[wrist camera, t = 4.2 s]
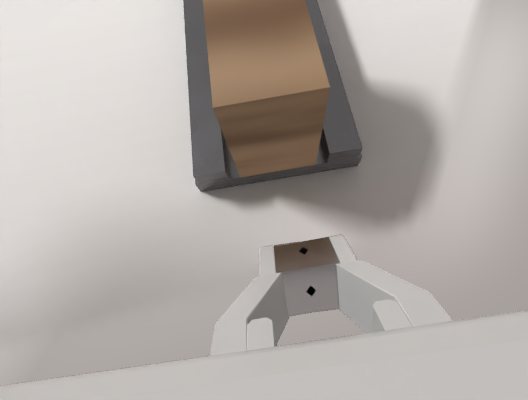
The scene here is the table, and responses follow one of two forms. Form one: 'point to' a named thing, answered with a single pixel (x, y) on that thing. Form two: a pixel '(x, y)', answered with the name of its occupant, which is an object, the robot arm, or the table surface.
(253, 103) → the brown wooden block
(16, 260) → the table surface
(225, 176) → the slot bed
